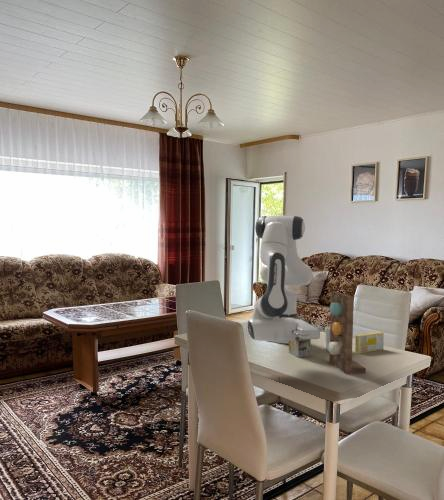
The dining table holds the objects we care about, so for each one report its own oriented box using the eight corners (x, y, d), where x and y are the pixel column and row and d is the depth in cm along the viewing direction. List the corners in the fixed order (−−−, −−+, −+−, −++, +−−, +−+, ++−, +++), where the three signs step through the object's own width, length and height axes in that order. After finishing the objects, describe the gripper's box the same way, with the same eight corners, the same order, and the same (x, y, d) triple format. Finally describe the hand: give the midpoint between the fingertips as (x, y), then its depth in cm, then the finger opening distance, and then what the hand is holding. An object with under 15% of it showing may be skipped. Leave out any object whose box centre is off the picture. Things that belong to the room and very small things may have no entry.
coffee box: (310, 356, 190) (312, 320, 189) (298, 357, 188) (299, 321, 187) (300, 350, 199) (301, 316, 198) (287, 351, 196) (288, 317, 196)
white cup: (323, 350, 200) (324, 329, 200) (325, 346, 208) (326, 325, 207) (341, 352, 197) (341, 330, 197) (342, 348, 205) (343, 327, 204)
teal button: (329, 313, 176) (330, 301, 176) (337, 313, 177) (338, 301, 176) (334, 316, 171) (335, 303, 171) (343, 316, 172) (343, 303, 172)
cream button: (328, 352, 177) (328, 340, 177) (336, 352, 177) (336, 340, 177) (333, 356, 172) (334, 343, 172) (341, 355, 173) (342, 343, 172)
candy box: (380, 348, 205) (380, 331, 205) (383, 350, 203) (384, 332, 203) (354, 352, 198) (355, 334, 198) (358, 353, 196) (358, 335, 196)
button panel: (329, 361, 183) (331, 291, 182) (346, 360, 184) (349, 291, 183) (346, 373, 167) (349, 297, 166) (365, 373, 169) (368, 297, 167)
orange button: (331, 333, 177) (332, 321, 176) (339, 333, 177) (340, 321, 177) (337, 336, 172) (337, 323, 172) (345, 336, 172) (345, 323, 172)
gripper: (298, 327, 160) (332, 326, 163) (280, 316, 180) (312, 315, 183) (297, 343, 160) (332, 342, 163) (280, 331, 181) (311, 330, 183)
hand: (321, 328), depth 173 cm, fingers closed
